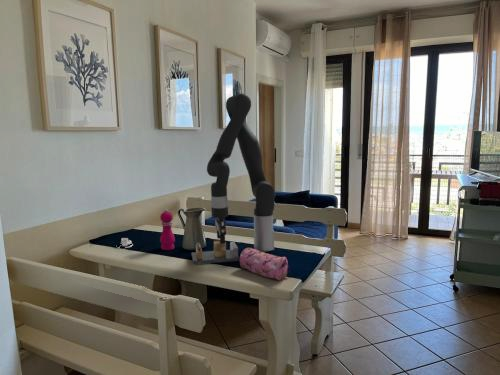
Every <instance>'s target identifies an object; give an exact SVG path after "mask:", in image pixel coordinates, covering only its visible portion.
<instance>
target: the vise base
mask: <svg viewBox="0 0 500 375" xmlns="http://www.w3.org/2000/svg"><path fill="white" fill-rule="evenodd" d="M229 242H230V243H229V249H226V256H219V257H215V255H214V250H208V251H202V259H198V258H197V254H196V251H195V252H191V258H192V264H193V265H202V264H203V265H204V264H216V263H229V262H240V256H239V247H238V245H237V244H236V243H235V241H229Z"/></svg>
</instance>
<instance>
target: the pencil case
mask: <svg viewBox="0 0 500 375" xmlns="http://www.w3.org/2000/svg"><path fill="white" fill-rule="evenodd" d="M288 263H289V262H288V259H287V257H286V256H278V255H274V254H269V253H266V252H264V251H258V250H256V249H254V248H252V247H246V248H244V249H243V250H242V251H241V253H240V256H239V265H240V268H241V269H245V270H247V271H250V272H252V273H254V274H256V275H260V276H263V277H266V278H269V279H273V280H277V281H281V279H282V280H284V279H285V278H287V274H290V269H291V268H290V267H289V264H288Z"/></svg>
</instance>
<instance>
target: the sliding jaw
mask: <svg viewBox="0 0 500 375" xmlns="http://www.w3.org/2000/svg"><path fill="white" fill-rule="evenodd" d="M195 252H196V254H197V258H198V259H202V252H203V250H202V246H201V244H200V242H199V241H198V242H196V244H195Z"/></svg>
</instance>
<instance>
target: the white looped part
mask: <svg viewBox="0 0 500 375" xmlns="http://www.w3.org/2000/svg"><path fill="white" fill-rule="evenodd" d="M120 244H122V245H121V246H122V247H125V248H124V249H126V248H132V246H134V244H133V243H132V240H130V239H129V238H128V237H122V238H121V241H120ZM130 244H132V245H130ZM128 245H130V246H128ZM121 246H119V247H117V248H118V249H121V248H120V247H121Z"/></svg>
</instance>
